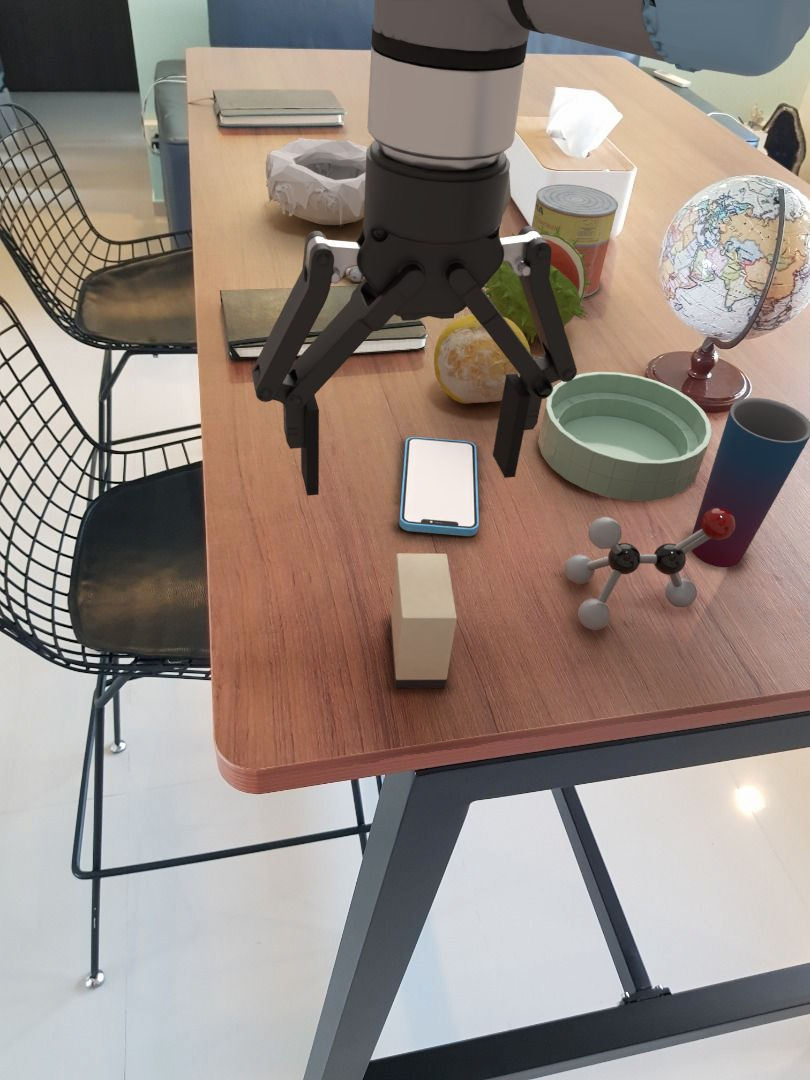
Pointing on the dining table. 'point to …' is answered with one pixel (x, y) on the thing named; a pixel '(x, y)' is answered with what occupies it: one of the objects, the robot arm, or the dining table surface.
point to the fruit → (472, 361)
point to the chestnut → (563, 279)
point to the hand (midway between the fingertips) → (409, 474)
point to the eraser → (422, 620)
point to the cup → (750, 472)
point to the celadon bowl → (624, 436)
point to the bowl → (319, 180)
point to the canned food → (578, 223)
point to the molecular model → (628, 559)
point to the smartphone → (439, 487)
